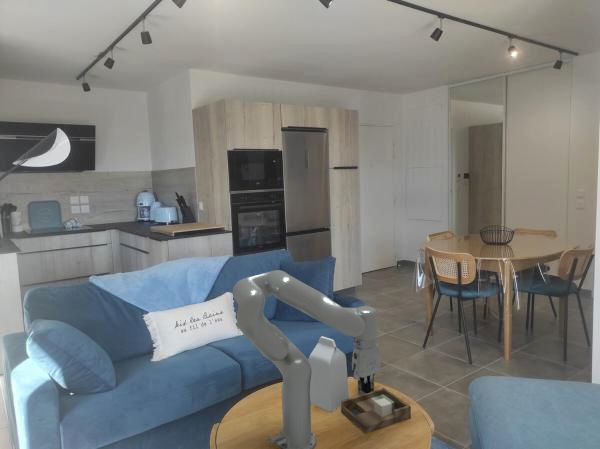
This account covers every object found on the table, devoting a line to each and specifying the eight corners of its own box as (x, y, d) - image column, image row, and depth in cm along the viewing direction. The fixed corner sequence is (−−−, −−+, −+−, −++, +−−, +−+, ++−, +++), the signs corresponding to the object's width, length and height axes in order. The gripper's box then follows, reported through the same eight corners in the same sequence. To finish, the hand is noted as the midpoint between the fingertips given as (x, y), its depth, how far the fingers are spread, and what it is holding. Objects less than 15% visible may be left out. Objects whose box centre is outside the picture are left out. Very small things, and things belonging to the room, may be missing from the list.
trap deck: (366, 433, 155) (366, 421, 154) (341, 412, 169) (341, 401, 168) (410, 417, 164) (410, 406, 163) (383, 398, 178) (383, 387, 177)
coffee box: (373, 398, 178) (373, 360, 176) (357, 397, 179) (357, 359, 177) (374, 387, 187) (374, 350, 185) (359, 386, 188) (358, 349, 186)
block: (381, 417, 160) (381, 406, 160) (374, 411, 164) (374, 401, 164) (391, 413, 162) (391, 403, 162) (384, 407, 166) (384, 397, 166)
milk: (307, 401, 177) (305, 339, 174) (325, 390, 185) (324, 330, 182) (331, 412, 169) (329, 346, 166) (349, 400, 177) (348, 337, 174)
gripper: (356, 350, 149) (356, 402, 151) (389, 340, 157) (389, 390, 159) (342, 343, 155) (342, 393, 158) (375, 334, 163) (375, 381, 165)
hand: (366, 391), depth 158 cm, fingers closed
